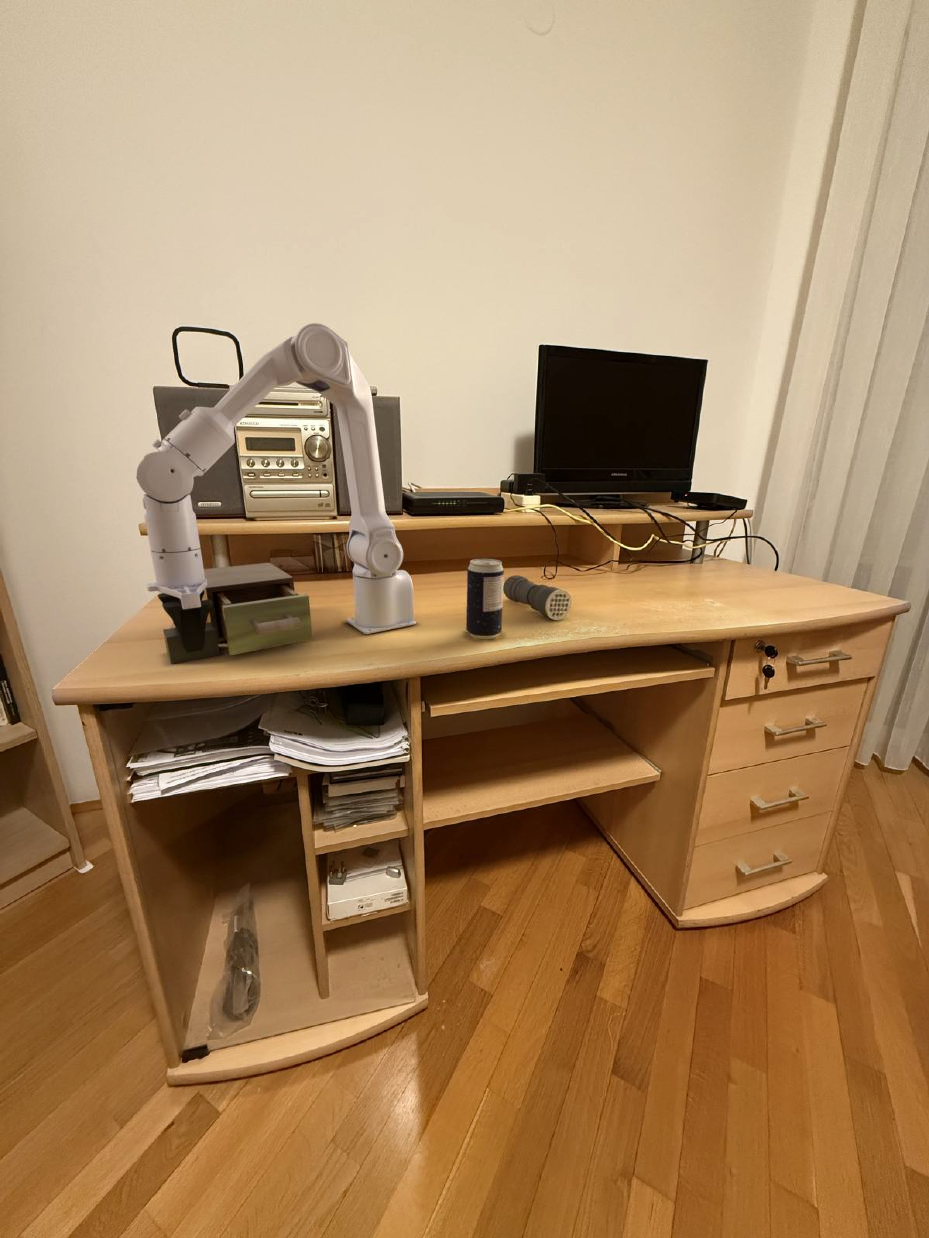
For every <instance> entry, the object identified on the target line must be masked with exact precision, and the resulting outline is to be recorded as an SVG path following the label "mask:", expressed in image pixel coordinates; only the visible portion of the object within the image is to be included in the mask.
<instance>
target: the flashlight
mask: <svg viewBox="0 0 929 1238" xmlns="http://www.w3.org/2000/svg"><path fill="white" fill-rule="evenodd" d="M503 595H504V596H505V597H506V598H507V599H508V600H510V601H511V602H514V603H517V604H518V603H521V604H524V605H528V606H530V608H531V609H532V610H534V611H536V612H539V613H540V614H541V615H542V616H544V617H546V618H549V619H552V620H554V621H560V620H562V619H564V618H565V617H567V615H569V613H570V611H571V608H572V602H573V601H572V597H571V594H570V593H569V592H568V591H566V590H564V589H561V588H558V587H556V586H548V585H546V584H537V583H534V582H533V581H531V580H529V579H528V578H527V577H525V576H521V575H519V574H515V575H511V576H509V577H508V578H507V579H506V580H504V583H503Z"/></svg>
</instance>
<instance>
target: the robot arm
mask: <svg viewBox="0 0 929 1238" xmlns="http://www.w3.org/2000/svg"><path fill="white" fill-rule="evenodd" d="M293 383H295V384H298V385H300V386H302V387H304V388H306V389H310V390H313V391H315V392H316V393H317V392H318V394H320V395H321V396H322V397H324V398H325V399H326V400H327V401H329V402H330V403H331V404H332V405H334V406H335V408H336V414H337V420H338V427H339V433H340V441H341V442H340V443H341V448H342V449H341V450H342V455H343V463H344V469H345V476H346V483H347V484H346V485H347V491H348V496H349V503H350V509H351V510H350V511H351V516H350V519H349V521H348V531H349V535H348V539H347V541H346V553H347V556H348V558H349V559H350V560H351V562H353V568H352V585H353V586H352V588H353V603H354V606H353V607H354V617H349V618H346V619H345V621H346V623H347V624H350V626H352V627H354V628H355V629H356V630H358V631H359V632H361V633H363V634H365V635H370V634H373V633H380V632H385V631H389V630H394V629H400V628H404V627H409V626H415V625H416V624H417V620H415V609H414V608H415V607H414V606H415V605H414V604H415V603H414V598H415V597H414V585H413V580H412V577H411V575H410V574H409V572H407V571H406V570H405V569H399V568H400V567H401V565H402V563H403V560H404V550H403V547H402V544H401V543H400V541H399V539H398V538H397V535H396V529H395V525H394V523H393V522H392V520H391V519H390V518H389V516H388V514H387V513H386V506H385V505H386V504H385V498H384V497H385V495H384V488H383V481H382V472H381V464H380V463H381V462H380V456H379V446H378V438H377V428H376V421H375V413H374V412H375V411H374V405H373V397H372V391H371V387H370V385H369V383H368V381H367V380H366V378H365V377H364V375H363V373H362V371H361V370H360V368H359V366H358V365H357V363H356V361H355V360H354V358H353V357H352V355H351V350H350V347H349V343H348V342H347V341H346V340H345V339H344V338H343V337H341V336H340V335H339V334H337V333H336V332H335V331H334V330H333V329H331V327H328V326H327V325H325V324H322V323H318V322H316V323H315V322H313V323H308V324H306V325H304V326H302V327H301V328H300V329H299V331H298V332H297V333H296V334H295V335H294V336H290V337H288V338H286V339H285V340H284V341H283V342H280V344H278V345H277V346H275V347H273V348H272V349H270V350H269V351H267V352H266V353H265V354H263V355H262V356H261V357H260V358H259V359H258V360H257V361H255V363H254V364H253V365H252V366H251V367H250V368H249V369H248V370H247V372H245V374H244V375H242V376H241V378H240V379H239V380H238V381H237V382H236V383H235V384H234V385H233V386H232V387H231V388H230V389H229V390H228V391H227V393H226V394H225V395H224V396H223V397H222V398H221V399H220V400H219V401H218V402H217V403H216V404H215V406H213V407H207V406H196V407H194V408H193V409H192V410H191V411H190V410H188V409H184V410H183V411H182V412H181V413H180V414H179V415H178V418H179V419H180V420H181V421H180V422H179V423H178V424H177V425H176V426H175V427H174V428H173V429H172V430H171V431H169V433H168V434H167V435H166V436H165V437H164V438H163V439H162V440H160V439H158V438H157V439H156V440H155V441H154V442H153V443H152V447H153V448H155V449H156V450H157V451H152V452H149V453H147V454H145V455H144V456H143V459H141V461H140V462H139V464H138V466H137V468H136V475H135V476H136V481H137V483H138V485H139V487H140V489H141V490H142V491H143V492H144V493H143V495H142V496H143V498H142V505H143V509H144V510H145V513H144V522H145V528H146V533H147V538H148V543H149V549H150V554H151V560H152V565H153V571H154V577H155V582H150V583H147V584H146V585H145V586H146V590H147V592H149V593H151V592H152V593H153V592H159V594H157V598H158V600H159V601H160V602H161V605H162V608H163V610H164V611H165V613H166V614H167V615H168V616H169V617H170V619H171V620H172V623H173V626H174V628H177V630H178V633H179V636H180V639H181V641H182V644H183V646H184V648H185V650H186V652H187V653H188V652H194V651H199V650H203V649H204V643H205V629H206V622H207V618H208V614H209V612H210V610H211V608H212V601H211V600H202V598H203V595H204V589H205V588H206V586H207V585H208V583H207V579H206V578H205V574H204V569H205V568H204V561H203V555H202V549H201V542H200V536H199V528H198V523H197V515H196V513H195V511H194V510H193V504H192V498H191V497H192V496H191V493H192V491H193V488H194V478H195V477H203V476H204V475H205V473H207V472H208V470H210V469H211V468H212V467H213V466H214V464H215V463H216V462H217V461H219V459H221V457H222V456H223V455H225V454H226V452H227V451H228V450H229V449H230V448H231V447H232V446H233V445H234V444H235V442H236V439H235V426H237V424H238V423H240V422H241V421H242V420H243V419H244V418H245V417H246V416H247V415H248V414H249V413H250V412H251V411H252V410H254V408H256V407H257V406H258V405H259V404H260V403H261V402H262V400H264V399H265V398H266V397H268V395H269V394H270V393H271V392H273V391H274V389H276V388H281V387H286V386H289V385H292V384H293Z"/></svg>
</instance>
